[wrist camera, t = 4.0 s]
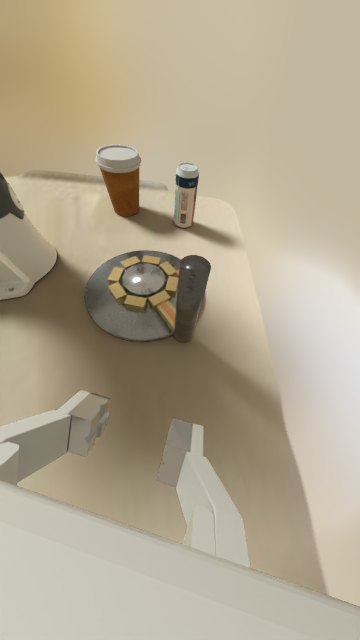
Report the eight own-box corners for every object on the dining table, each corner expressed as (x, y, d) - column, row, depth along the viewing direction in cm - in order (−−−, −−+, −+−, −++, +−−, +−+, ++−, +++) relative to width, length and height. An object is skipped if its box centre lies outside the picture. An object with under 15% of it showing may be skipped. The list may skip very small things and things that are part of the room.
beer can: (196, 225, 49) (204, 168, 39) (182, 231, 47) (186, 174, 37) (184, 216, 51) (189, 160, 41) (170, 222, 49) (171, 164, 39)
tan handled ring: (100, 277, 35) (68, 195, 24) (155, 255, 40) (151, 176, 28) (156, 362, 28) (149, 302, 16) (217, 323, 32) (249, 253, 20)
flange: (105, 363, 29) (98, 353, 26) (75, 270, 38) (67, 255, 35) (222, 314, 35) (227, 301, 32) (171, 244, 44) (171, 230, 41)
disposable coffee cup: (110, 222, 47) (96, 162, 37) (105, 202, 52) (91, 144, 42) (148, 217, 50) (144, 160, 39) (140, 198, 54) (135, 142, 44)
